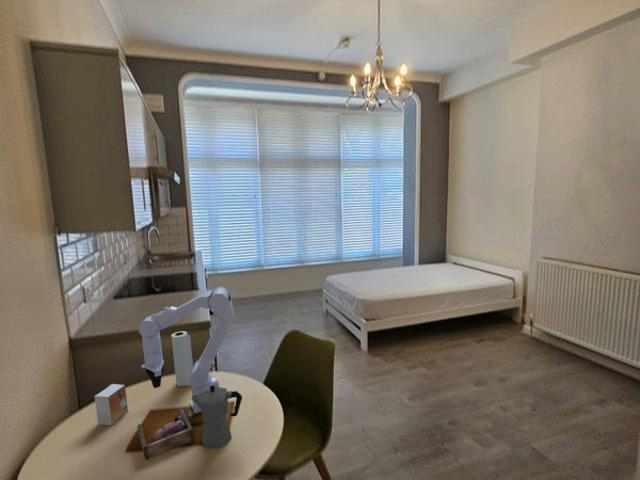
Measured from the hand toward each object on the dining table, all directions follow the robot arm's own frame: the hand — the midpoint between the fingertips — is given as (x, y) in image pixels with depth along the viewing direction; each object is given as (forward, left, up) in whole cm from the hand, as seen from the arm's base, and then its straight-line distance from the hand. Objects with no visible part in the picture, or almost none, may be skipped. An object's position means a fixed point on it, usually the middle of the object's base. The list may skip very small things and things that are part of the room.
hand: (156, 386), depth 125 cm
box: (+1, +17, -9) cm, 19 cm away
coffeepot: (-13, +28, -10) cm, 32 cm away
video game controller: (0, +18, -10) cm, 20 cm away
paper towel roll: (-12, -14, -10) cm, 21 cm away
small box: (+14, -6, -10) cm, 18 cm away
